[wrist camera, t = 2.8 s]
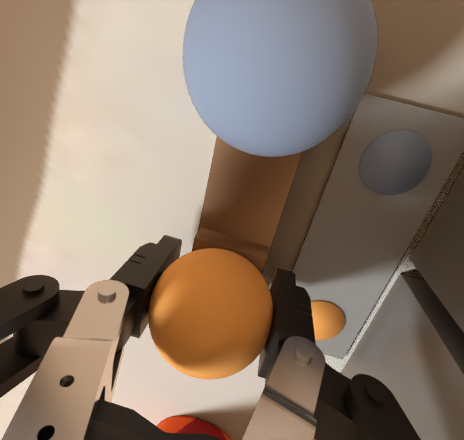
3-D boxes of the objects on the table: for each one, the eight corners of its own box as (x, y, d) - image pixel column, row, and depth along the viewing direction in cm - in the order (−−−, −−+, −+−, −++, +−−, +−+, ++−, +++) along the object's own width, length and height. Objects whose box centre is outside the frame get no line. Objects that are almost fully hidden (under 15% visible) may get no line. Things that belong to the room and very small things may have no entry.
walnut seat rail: (351, -2, 9) (365, -22, 8) (249, 304, 15) (244, 331, 13) (253, -25, 9) (246, -49, 8) (189, 286, 15) (178, 310, 13)
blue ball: (380, 0, 8) (473, -91, 4) (322, 156, 10) (346, 202, 6) (224, -36, 8) (165, -156, 4) (197, 123, 10) (140, 145, 6)
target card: (476, 121, 10) (482, 122, 10) (342, 356, 15) (343, 361, 15) (361, 93, 10) (363, 93, 10) (267, 333, 15) (267, 337, 15)
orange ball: (289, 245, 11) (290, 329, 7) (259, 326, 13) (248, 427, 9) (182, 215, 12) (128, 280, 8) (168, 298, 14) (119, 384, 10)
